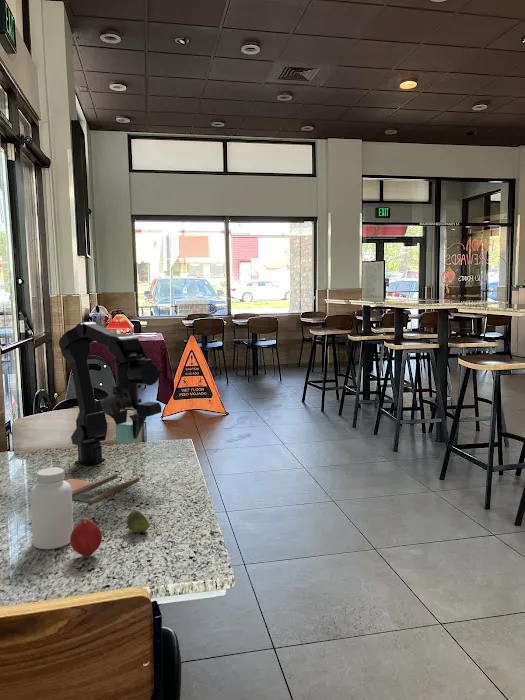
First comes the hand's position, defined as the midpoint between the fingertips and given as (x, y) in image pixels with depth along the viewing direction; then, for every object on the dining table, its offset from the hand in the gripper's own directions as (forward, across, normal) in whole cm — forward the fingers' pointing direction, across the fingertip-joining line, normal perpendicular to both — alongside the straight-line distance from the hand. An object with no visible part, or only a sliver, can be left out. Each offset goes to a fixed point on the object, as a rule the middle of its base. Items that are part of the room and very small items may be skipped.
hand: (129, 437), depth 154 cm
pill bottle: (+11, +12, -39) cm, 43 cm away
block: (+1, 0, -1) cm, 1 cm away
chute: (+11, 0, -11) cm, 16 cm away
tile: (+11, -8, -14) cm, 20 cm away
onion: (+11, +23, -42) cm, 49 cm away
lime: (+11, +25, -28) cm, 40 cm away
